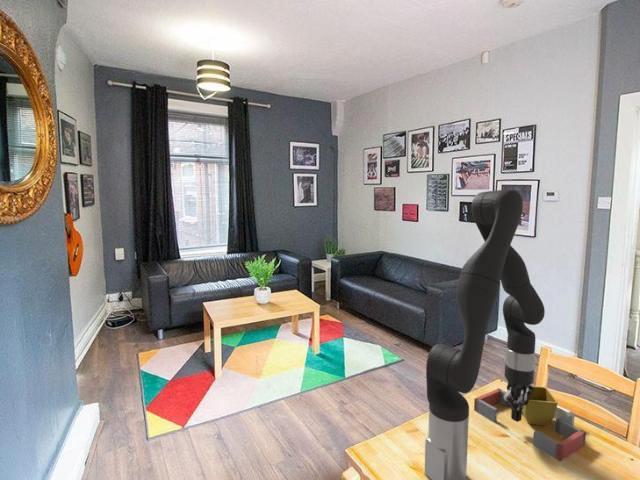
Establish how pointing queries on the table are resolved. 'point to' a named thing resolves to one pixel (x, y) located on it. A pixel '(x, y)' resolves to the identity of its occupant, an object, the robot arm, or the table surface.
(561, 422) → the box
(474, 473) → the table surface
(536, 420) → the flower pot
